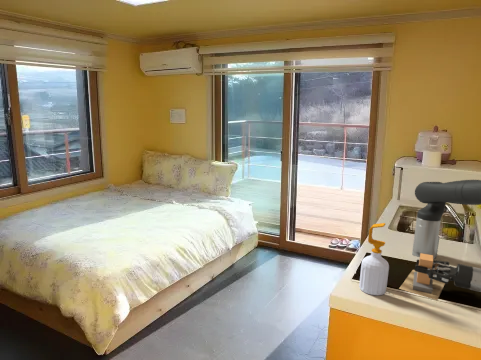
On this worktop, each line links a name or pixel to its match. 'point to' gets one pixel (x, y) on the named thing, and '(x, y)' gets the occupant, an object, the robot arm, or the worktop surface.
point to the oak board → (434, 295)
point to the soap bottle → (374, 268)
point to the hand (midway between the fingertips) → (416, 265)
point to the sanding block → (423, 275)
